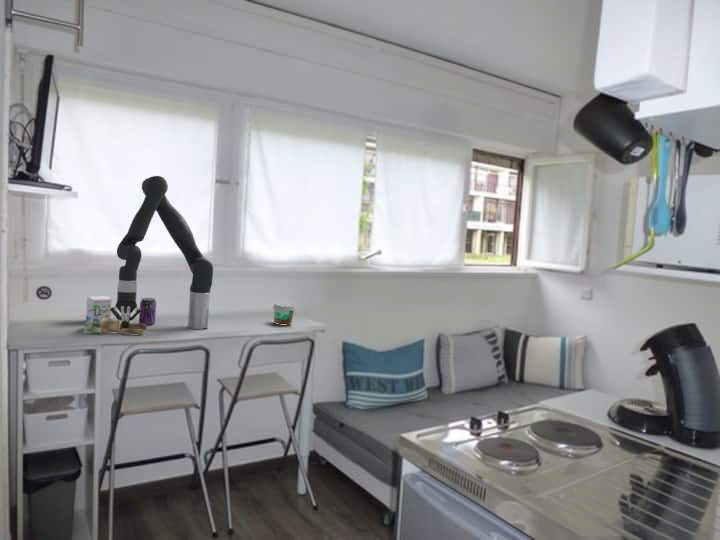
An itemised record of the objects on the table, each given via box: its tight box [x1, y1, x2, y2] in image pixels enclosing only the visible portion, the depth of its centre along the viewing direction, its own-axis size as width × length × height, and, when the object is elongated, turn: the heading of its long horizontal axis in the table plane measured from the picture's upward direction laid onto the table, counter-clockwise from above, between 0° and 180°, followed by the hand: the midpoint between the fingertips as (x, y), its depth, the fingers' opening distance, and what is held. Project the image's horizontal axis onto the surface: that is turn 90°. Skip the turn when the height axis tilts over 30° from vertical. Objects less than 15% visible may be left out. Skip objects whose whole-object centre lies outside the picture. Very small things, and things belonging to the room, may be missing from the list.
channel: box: [83, 319, 148, 336], centre depth 229 cm, size 23×12×4 cm, turn 105°
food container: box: [272, 302, 296, 324], centre depth 276 cm, size 12×6×10 cm, turn 68°
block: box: [100, 317, 122, 333], centre depth 229 cm, size 7×7×5 cm
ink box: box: [85, 295, 113, 322], centre depth 242 cm, size 8×8×12 cm
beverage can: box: [138, 297, 157, 326], centre depth 248 cm, size 7×7×12 cm
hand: (125, 329), depth 230 cm, fingers closed
